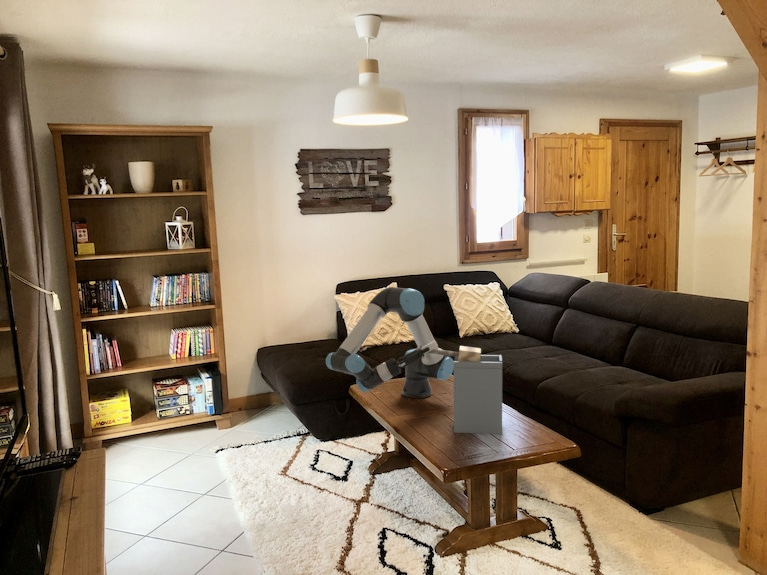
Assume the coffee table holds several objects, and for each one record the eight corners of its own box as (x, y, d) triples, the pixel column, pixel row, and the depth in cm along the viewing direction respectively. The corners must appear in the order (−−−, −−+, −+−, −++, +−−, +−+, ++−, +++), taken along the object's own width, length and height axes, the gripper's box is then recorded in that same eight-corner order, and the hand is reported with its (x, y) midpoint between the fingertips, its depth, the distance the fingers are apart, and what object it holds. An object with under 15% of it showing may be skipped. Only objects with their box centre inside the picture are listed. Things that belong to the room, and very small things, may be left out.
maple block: (415, 358, 262) (416, 344, 261) (417, 353, 270) (418, 340, 269) (479, 366, 258) (480, 352, 257) (479, 361, 266) (480, 348, 265)
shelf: (453, 432, 261) (453, 361, 257) (455, 420, 275) (454, 353, 270) (502, 434, 258) (502, 362, 253) (500, 422, 271) (501, 353, 267)
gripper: (396, 372, 276) (441, 346, 271) (391, 381, 261) (439, 355, 257) (387, 357, 276) (432, 332, 271) (382, 366, 261) (430, 339, 256)
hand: (436, 343), depth 264 cm, fingers closed on maple block, 2 cm apart
